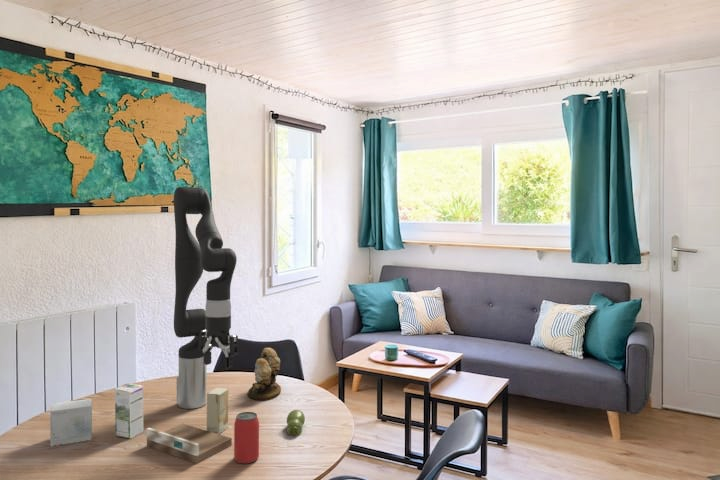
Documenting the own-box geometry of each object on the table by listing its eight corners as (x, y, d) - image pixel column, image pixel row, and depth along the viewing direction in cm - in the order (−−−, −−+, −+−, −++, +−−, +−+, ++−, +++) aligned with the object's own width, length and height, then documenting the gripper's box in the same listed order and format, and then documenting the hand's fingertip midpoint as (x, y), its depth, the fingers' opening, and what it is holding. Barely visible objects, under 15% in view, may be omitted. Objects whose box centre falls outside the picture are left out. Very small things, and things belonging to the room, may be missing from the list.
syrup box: (144, 431, 156) (144, 384, 156) (129, 439, 151) (129, 390, 150) (129, 428, 158) (129, 382, 158) (114, 436, 153) (114, 388, 152)
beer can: (236, 453, 143) (236, 411, 143) (260, 453, 144) (260, 410, 143) (232, 465, 137) (232, 420, 136) (257, 464, 137) (257, 420, 137)
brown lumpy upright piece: (253, 384, 202) (253, 341, 201) (283, 385, 202) (284, 342, 202) (244, 401, 184) (245, 353, 183) (277, 401, 184) (278, 354, 184)
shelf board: (145, 446, 147) (145, 429, 146) (182, 429, 158) (183, 413, 158) (195, 463, 137) (195, 445, 137) (231, 445, 148) (231, 428, 148)
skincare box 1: (50, 447, 145) (49, 410, 145) (51, 438, 151) (51, 403, 150) (92, 440, 150) (91, 404, 150) (92, 432, 156) (91, 397, 155)
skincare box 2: (219, 435, 155) (219, 395, 154) (205, 433, 156) (206, 393, 155) (228, 426, 161) (229, 388, 161) (216, 425, 162) (216, 386, 162)
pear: (305, 406, 164) (302, 424, 154) (305, 421, 165) (302, 440, 155) (288, 406, 164) (284, 424, 154) (288, 421, 165) (284, 440, 155)
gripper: (192, 313, 157) (192, 365, 158) (226, 318, 150) (226, 373, 151) (210, 309, 164) (210, 360, 164) (244, 314, 157) (244, 367, 157)
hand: (218, 366), depth 158 cm, fingers open, 8 cm apart
